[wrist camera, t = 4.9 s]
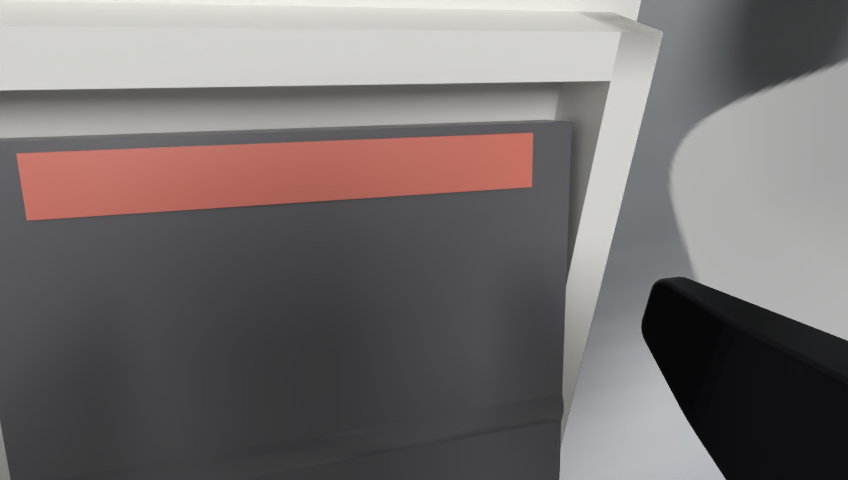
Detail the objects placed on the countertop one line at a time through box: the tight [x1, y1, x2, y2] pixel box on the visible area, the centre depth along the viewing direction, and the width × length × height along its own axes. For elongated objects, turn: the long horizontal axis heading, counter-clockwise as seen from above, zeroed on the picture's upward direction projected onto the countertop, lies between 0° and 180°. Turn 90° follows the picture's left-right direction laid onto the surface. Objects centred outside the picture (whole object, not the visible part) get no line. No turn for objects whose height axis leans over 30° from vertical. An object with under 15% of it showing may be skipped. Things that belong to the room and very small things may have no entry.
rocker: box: [0, 120, 572, 480], centre depth 15 cm, size 14×12×1 cm
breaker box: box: [0, 0, 663, 480], centre depth 18 cm, size 20×16×5 cm
